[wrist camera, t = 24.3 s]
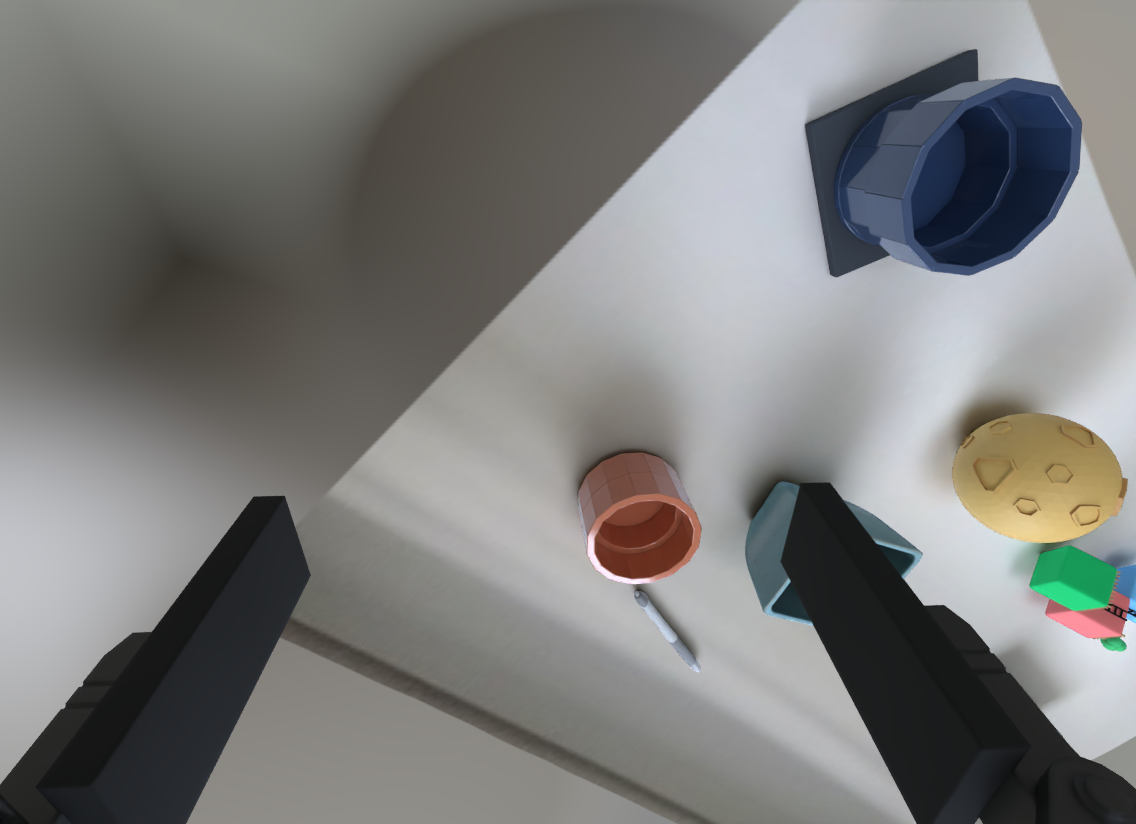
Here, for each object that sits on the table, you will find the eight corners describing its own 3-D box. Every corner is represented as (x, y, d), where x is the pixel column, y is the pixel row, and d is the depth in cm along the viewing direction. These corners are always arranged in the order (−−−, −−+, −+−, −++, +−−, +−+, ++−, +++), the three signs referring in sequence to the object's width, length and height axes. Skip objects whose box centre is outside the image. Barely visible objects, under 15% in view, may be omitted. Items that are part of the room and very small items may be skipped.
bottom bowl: (561, 473, 43) (569, 521, 38) (660, 432, 42) (682, 476, 37) (599, 545, 47) (610, 598, 41) (690, 509, 46) (713, 559, 41)
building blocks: (1024, 529, 58) (1154, 593, 54) (1001, 595, 55) (1136, 668, 51) (1080, 508, 51) (1234, 581, 47) (1056, 584, 48) (1218, 667, 44)
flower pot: (771, 453, 44) (829, 525, 36) (856, 481, 46) (927, 554, 38) (718, 533, 47) (761, 615, 40) (799, 556, 50) (855, 637, 42)
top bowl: (818, 130, 32) (894, 131, 26) (969, 61, 31) (1087, 44, 25) (841, 270, 36) (911, 300, 30) (974, 213, 35) (1076, 232, 29)
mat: (804, 124, 33) (810, 124, 32) (967, 50, 32) (978, 48, 31) (830, 275, 37) (836, 278, 37) (973, 214, 36) (982, 216, 36)
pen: (638, 582, 49) (641, 594, 48) (701, 661, 55) (706, 674, 54) (628, 587, 49) (631, 598, 48) (692, 666, 56) (696, 678, 54)
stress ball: (1043, 459, 47) (1166, 535, 38) (934, 508, 49) (1028, 592, 40) (1034, 369, 43) (1171, 432, 34) (914, 426, 44) (1015, 500, 35)
